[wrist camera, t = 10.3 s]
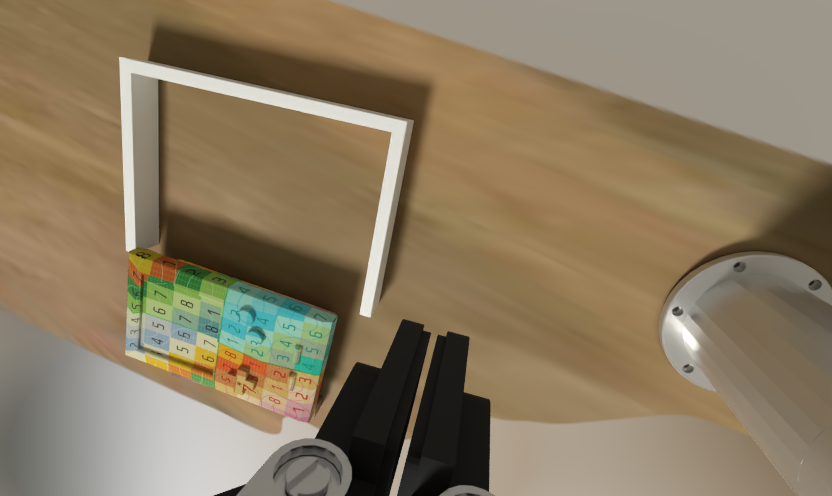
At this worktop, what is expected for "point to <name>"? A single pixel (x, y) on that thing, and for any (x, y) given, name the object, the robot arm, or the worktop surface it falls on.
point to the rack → (143, 99)
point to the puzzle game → (227, 333)
